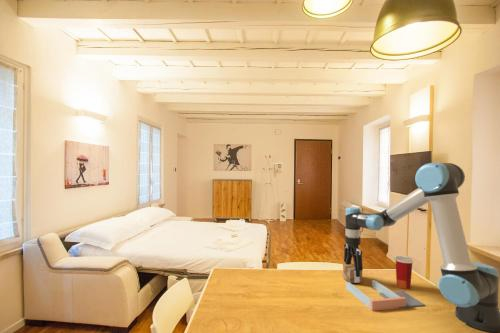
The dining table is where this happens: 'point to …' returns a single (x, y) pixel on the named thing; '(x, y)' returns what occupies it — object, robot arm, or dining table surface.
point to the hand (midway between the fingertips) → (352, 279)
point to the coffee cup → (403, 271)
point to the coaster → (409, 299)
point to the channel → (378, 304)
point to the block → (350, 273)
